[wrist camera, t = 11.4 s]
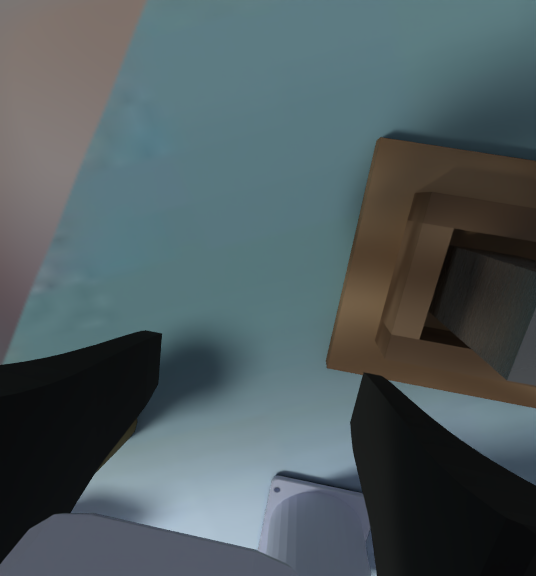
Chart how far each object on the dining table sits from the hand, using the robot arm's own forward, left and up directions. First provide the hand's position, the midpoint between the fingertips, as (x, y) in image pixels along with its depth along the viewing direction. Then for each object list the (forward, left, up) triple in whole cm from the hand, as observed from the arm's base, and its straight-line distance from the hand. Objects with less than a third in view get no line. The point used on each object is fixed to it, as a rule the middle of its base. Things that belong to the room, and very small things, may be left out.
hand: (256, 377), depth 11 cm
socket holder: (+3, -11, -10) cm, 15 cm away
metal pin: (+3, -11, -9) cm, 15 cm away
